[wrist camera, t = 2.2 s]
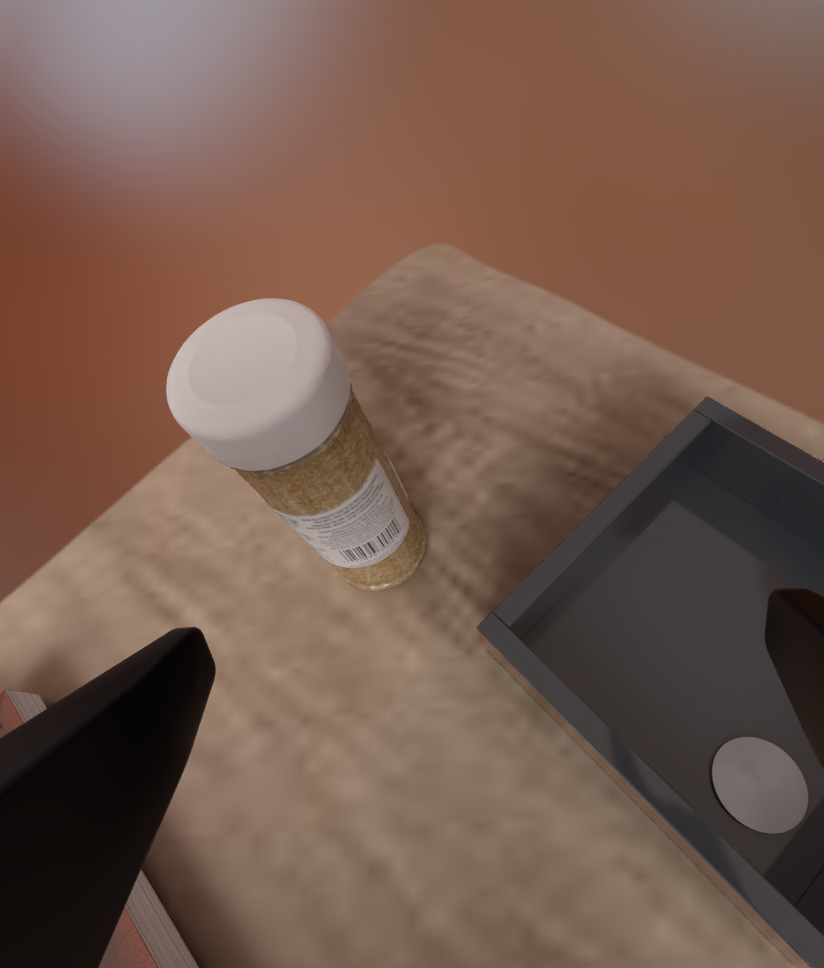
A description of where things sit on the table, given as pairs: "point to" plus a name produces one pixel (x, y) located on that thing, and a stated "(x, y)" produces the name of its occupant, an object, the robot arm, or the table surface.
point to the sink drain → (759, 785)
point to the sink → (687, 650)
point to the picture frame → (144, 922)
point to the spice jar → (297, 436)
